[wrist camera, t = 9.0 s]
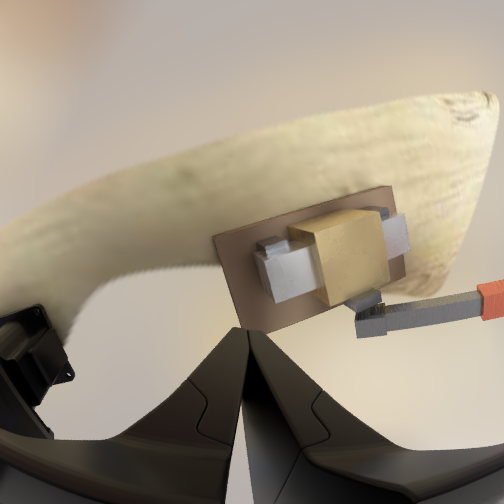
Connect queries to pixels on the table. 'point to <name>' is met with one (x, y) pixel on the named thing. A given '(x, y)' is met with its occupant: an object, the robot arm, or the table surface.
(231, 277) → the board
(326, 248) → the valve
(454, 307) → the lever
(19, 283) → the table surface
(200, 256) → the table surface
